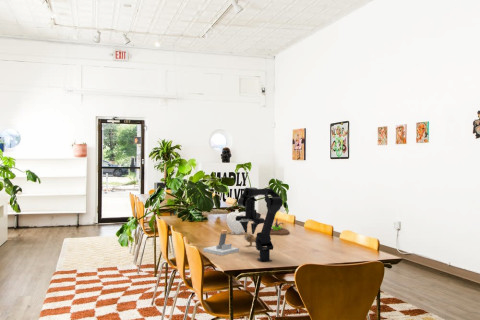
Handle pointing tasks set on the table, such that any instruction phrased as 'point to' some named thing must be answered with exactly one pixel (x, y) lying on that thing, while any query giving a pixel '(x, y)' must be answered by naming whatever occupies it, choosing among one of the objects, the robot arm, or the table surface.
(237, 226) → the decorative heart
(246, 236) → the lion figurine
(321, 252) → the table surface
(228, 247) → the switch plate
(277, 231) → the plant
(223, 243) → the lever
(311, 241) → the table surface
